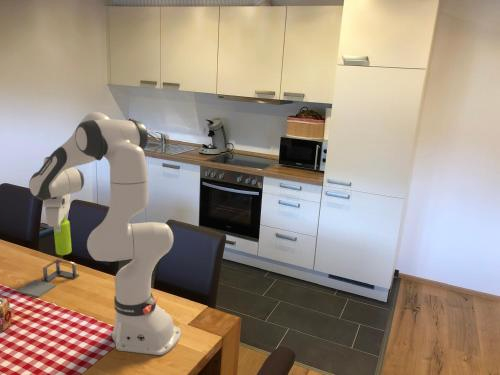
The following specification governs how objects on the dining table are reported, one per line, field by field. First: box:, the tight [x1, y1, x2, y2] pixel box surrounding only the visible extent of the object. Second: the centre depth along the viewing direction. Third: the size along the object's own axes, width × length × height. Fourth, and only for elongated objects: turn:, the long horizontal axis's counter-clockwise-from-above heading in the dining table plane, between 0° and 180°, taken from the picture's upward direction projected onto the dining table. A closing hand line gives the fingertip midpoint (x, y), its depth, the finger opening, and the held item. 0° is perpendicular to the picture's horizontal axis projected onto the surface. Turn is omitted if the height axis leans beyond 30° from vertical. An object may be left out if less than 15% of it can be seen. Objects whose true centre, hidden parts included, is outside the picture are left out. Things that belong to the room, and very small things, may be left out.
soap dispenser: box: [53, 206, 73, 256], centre depth 167 cm, size 6×7×20 cm
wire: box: [41, 259, 80, 283], centre depth 169 cm, size 10×9×6 cm
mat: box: [16, 279, 57, 299], centre depth 161 cm, size 10×9×1 cm
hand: (60, 228), depth 167 cm, fingers closed on soap dispenser, 6 cm apart
